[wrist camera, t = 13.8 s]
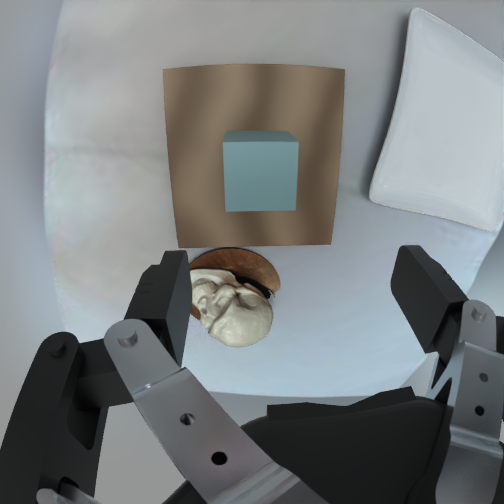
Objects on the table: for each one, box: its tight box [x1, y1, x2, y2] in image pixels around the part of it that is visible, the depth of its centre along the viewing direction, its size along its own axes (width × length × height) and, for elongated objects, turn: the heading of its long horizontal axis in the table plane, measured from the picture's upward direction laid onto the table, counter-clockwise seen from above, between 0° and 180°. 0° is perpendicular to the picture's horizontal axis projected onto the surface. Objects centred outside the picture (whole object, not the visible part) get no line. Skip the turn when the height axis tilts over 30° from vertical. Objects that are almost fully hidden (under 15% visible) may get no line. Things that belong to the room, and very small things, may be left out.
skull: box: [189, 249, 280, 347], centre depth 36 cm, size 12×10×10 cm
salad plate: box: [369, 7, 504, 231], centre depth 26 cm, size 21×21×3 cm
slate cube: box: [223, 131, 299, 212], centre depth 25 cm, size 6×6×6 cm
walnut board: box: [163, 64, 345, 248], centre depth 28 cm, size 16×18×2 cm
